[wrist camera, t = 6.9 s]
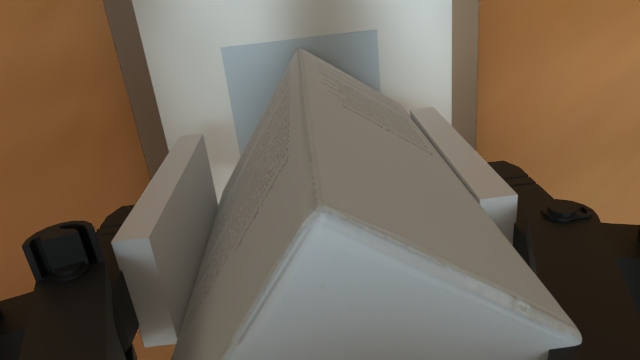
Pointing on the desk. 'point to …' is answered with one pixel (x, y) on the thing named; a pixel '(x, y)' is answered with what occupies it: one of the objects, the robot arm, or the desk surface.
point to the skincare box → (358, 244)
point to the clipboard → (284, 62)
